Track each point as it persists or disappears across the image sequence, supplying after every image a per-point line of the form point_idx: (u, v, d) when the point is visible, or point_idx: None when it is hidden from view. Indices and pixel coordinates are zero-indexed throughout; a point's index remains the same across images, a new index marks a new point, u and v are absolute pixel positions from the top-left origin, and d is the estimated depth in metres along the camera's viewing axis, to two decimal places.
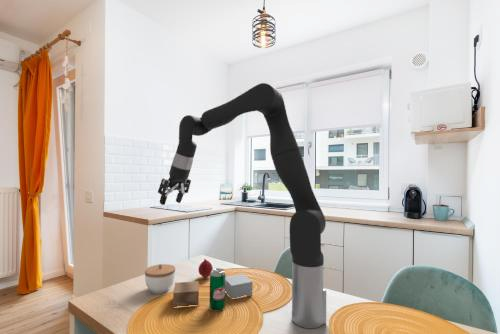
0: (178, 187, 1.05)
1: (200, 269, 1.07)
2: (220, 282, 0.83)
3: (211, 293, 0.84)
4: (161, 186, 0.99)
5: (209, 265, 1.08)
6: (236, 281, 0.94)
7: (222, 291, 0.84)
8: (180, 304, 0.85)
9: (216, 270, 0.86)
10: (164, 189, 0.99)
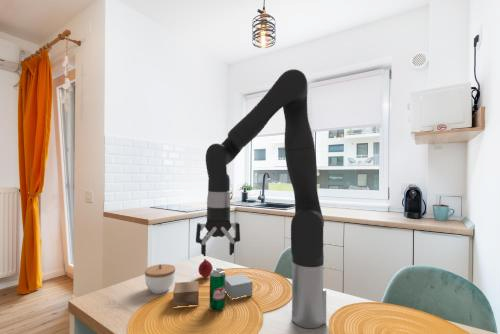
0: (220, 233, 0.85)
1: (200, 269, 1.07)
2: (220, 282, 0.83)
3: (211, 293, 0.84)
4: (196, 232, 0.85)
5: (209, 265, 1.08)
6: (236, 281, 0.94)
7: (222, 291, 0.84)
8: (180, 304, 0.85)
9: (216, 270, 0.86)
10: (197, 235, 0.83)
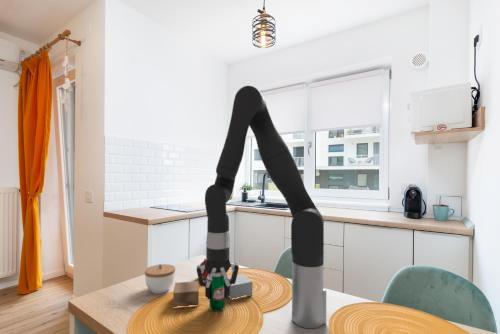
0: None
1: None
2: (220, 282, 0.83)
3: (211, 293, 0.84)
4: None
5: None
6: (236, 281, 0.94)
7: (222, 291, 0.84)
8: (180, 304, 0.85)
9: None
10: (200, 279, 0.83)
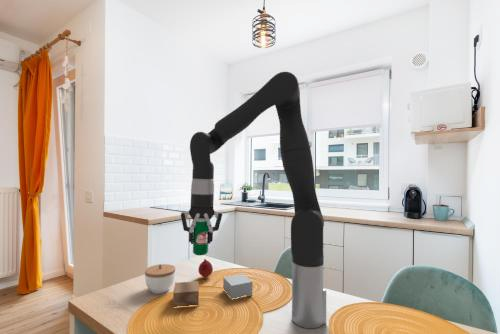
0: None
1: (200, 269, 1.07)
2: (203, 228, 0.86)
3: (194, 238, 0.86)
4: None
5: (209, 265, 1.08)
6: (236, 281, 0.94)
7: (205, 236, 0.86)
8: (180, 304, 0.85)
9: None
10: (184, 223, 0.86)
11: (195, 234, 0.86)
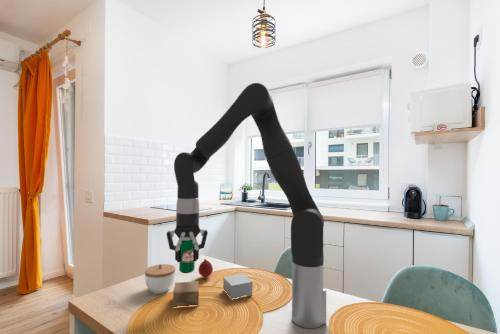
0: None
1: (200, 269, 1.07)
2: (189, 246, 0.88)
3: (180, 256, 0.88)
4: None
5: (209, 265, 1.08)
6: (236, 281, 0.94)
7: (191, 254, 0.88)
8: (180, 304, 0.85)
9: None
10: (169, 242, 0.88)
11: (181, 252, 0.88)
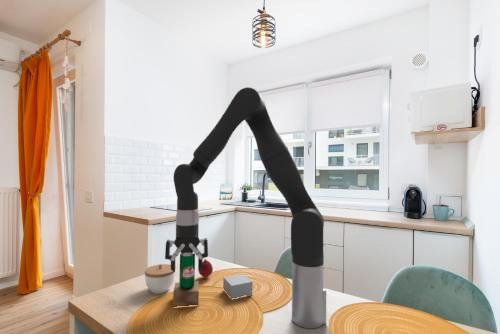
0: (189, 249, 0.89)
1: (200, 269, 1.07)
2: (189, 262, 0.88)
3: (180, 272, 0.88)
4: None
5: (209, 265, 1.08)
6: (236, 281, 0.94)
7: (191, 270, 0.88)
8: (180, 304, 0.85)
9: None
10: (166, 252, 0.87)
11: (181, 268, 0.88)
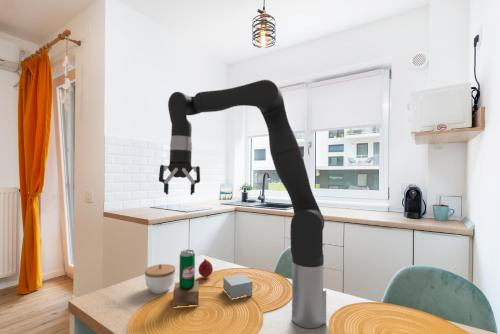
0: (182, 174, 0.94)
1: (200, 269, 1.07)
2: (189, 262, 0.87)
3: (180, 272, 0.88)
4: None
5: (209, 265, 1.08)
6: (236, 281, 0.94)
7: (191, 270, 0.88)
8: (180, 304, 0.85)
9: (186, 251, 0.90)
10: (160, 174, 0.92)
11: (181, 269, 0.87)
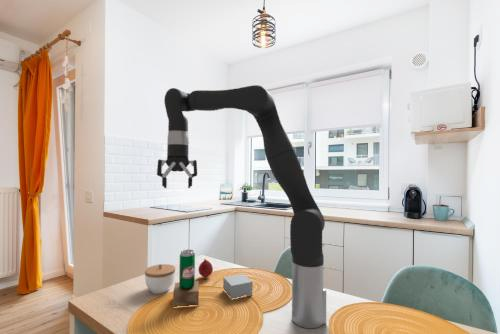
0: (179, 168, 0.96)
1: (200, 269, 1.07)
2: (189, 262, 0.87)
3: (180, 272, 0.88)
4: None
5: (209, 265, 1.08)
6: (236, 281, 0.94)
7: (191, 270, 0.88)
8: (180, 304, 0.85)
9: (186, 251, 0.90)
10: (158, 169, 0.95)
11: (181, 269, 0.88)
